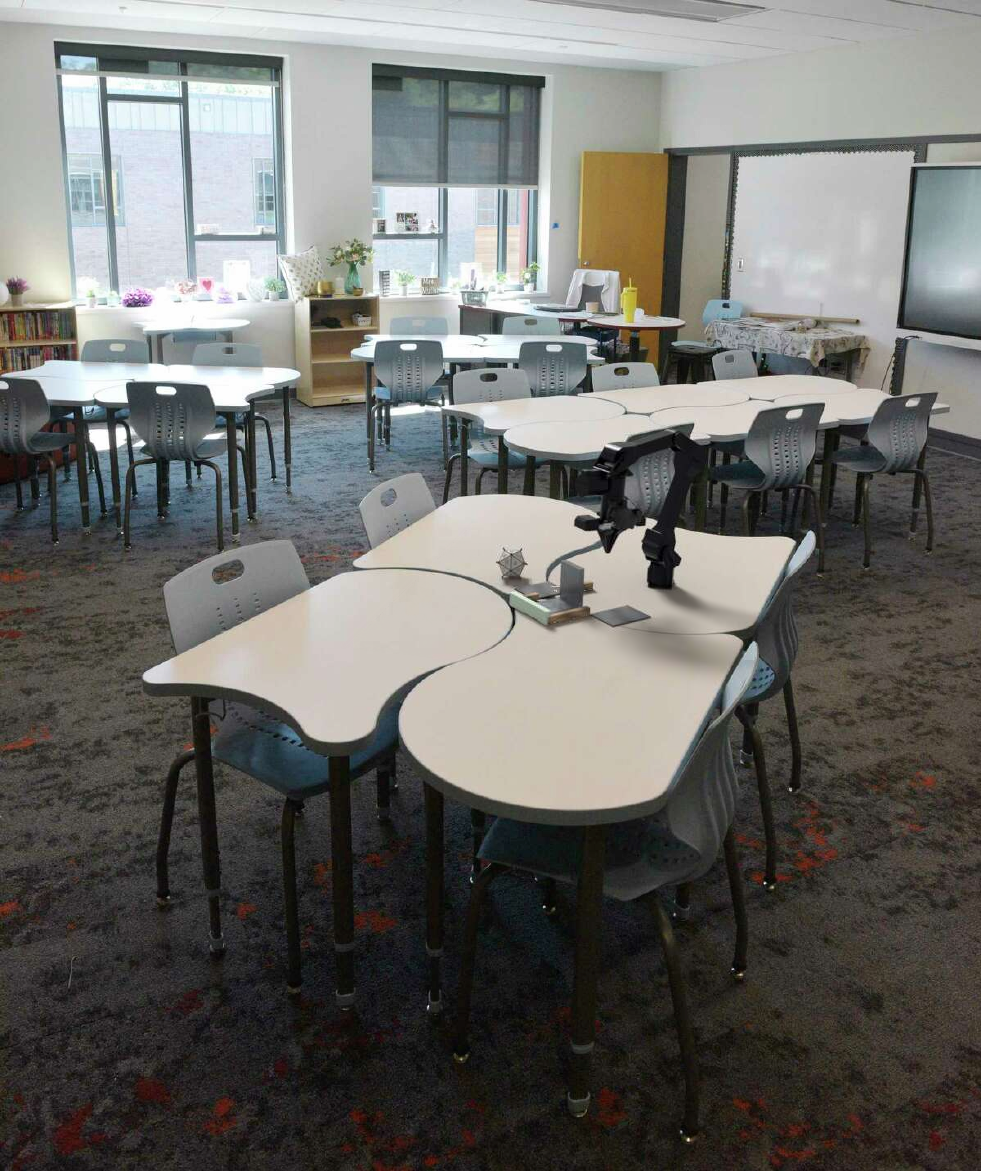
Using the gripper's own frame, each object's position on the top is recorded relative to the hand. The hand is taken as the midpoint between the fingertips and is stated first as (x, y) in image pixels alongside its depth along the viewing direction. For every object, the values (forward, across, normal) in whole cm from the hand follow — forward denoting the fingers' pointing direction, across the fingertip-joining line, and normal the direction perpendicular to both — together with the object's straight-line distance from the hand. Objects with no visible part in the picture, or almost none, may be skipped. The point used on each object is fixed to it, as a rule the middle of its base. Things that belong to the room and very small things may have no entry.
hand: (607, 553), depth 277 cm
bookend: (+13, -16, -1) cm, 20 cm away
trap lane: (+13, -11, -1) cm, 17 cm away
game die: (+13, -13, +25) cm, 31 cm away
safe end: (+13, -23, -1) cm, 27 cm away
